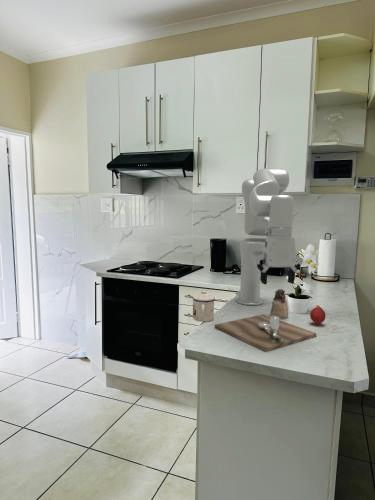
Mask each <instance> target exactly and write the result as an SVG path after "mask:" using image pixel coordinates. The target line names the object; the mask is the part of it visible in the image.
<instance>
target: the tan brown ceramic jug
mask: <svg viewBox="0 0 375 500" xmlns="http://www.w3.org/2000/svg"><path fill="white" fill-rule="evenodd" d="M285 293H286V290H285V289H283V288H279V289H277V290H276V291H275V292H274V297H273V298H272V300H273V301H272V302H271V310H270V316H273V315H274V316H279V320H285V319H288V318H289V308H288V302H287V300H286V294H285Z"/></svg>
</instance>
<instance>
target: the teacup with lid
mask: <svg viewBox="0 0 375 500" xmlns="http://www.w3.org/2000/svg"><path fill="white" fill-rule="evenodd" d="M215 300H216V298H215V297H214V296H213V295H211V294H210V293H208V292H207V291H206V290H202V291H201V292H200V293H197V294H195V295H193V296H192V319H193V320H194V321H197V322H199V323H200V322H203V323H204V321H205V323H206V322H208V323H209V322H212V321H213V320H214V319H215V317H214V316H215Z"/></svg>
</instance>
